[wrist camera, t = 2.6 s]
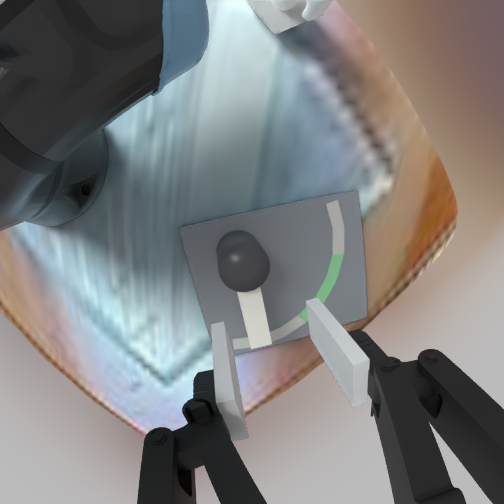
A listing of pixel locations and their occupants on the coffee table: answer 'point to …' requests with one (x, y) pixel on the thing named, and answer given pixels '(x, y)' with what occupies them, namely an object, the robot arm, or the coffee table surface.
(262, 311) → the white and grey lever
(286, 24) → the white faucet
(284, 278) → the tuner board
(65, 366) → the coffee table surface
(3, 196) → the robot arm
